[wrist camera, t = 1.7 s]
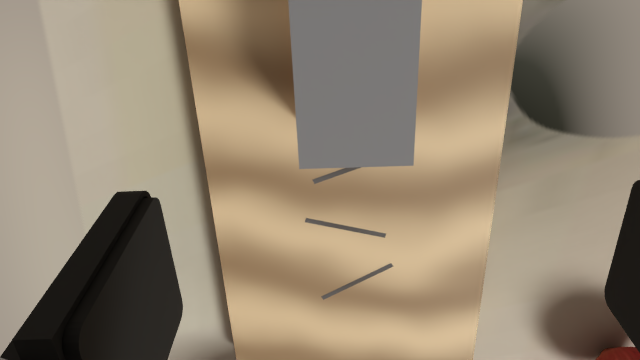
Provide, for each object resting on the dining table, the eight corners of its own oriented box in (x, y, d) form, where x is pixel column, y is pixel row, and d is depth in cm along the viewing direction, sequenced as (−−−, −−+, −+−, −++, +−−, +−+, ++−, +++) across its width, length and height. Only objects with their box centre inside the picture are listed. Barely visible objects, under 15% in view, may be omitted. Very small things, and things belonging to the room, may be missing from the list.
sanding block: (292, -65, 23) (284, -55, 19) (406, -70, 23) (425, -61, 19) (303, 125, 28) (299, 169, 23) (399, 122, 27) (413, 165, 23)
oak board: (172, -98, 24) (162, -97, 23) (526, -114, 24) (538, -114, 22) (240, 348, 37) (237, 365, 36) (467, 343, 37) (472, 360, 36)
